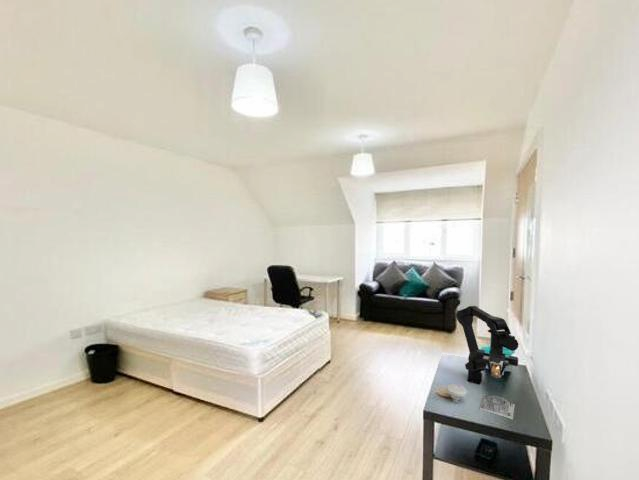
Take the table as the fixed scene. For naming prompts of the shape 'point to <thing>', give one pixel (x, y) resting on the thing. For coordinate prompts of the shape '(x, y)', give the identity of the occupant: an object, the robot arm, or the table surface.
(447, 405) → the table surface
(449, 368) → the table surface
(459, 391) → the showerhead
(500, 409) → the clear glass tray
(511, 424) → the table surface
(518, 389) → the table surface
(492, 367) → the pipe stub
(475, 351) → the robot arm
